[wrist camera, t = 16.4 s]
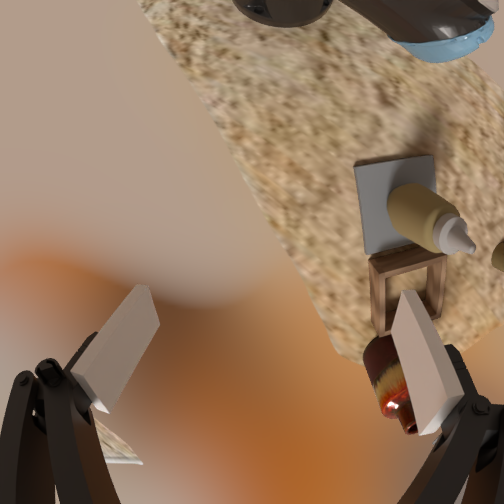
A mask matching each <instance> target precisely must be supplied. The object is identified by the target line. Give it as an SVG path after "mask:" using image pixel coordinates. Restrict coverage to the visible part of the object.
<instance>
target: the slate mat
mask: <svg viewBox="0 0 504 504" xmlns="http://www.w3.org/2000/svg"><path fill="white" fill-rule="evenodd" d="M353 168H354V173H355V179H356V185H357V192H358V199H359V206H360V213H361V221H362V229H363V239H364V249H365V253H366V255H369V254H373V253H377V252H381V251H385V250H389V249H393V248H397V247H401V246H405V245H409V244H413V243H415V242H413V241H411V240H410V239H408V238H406V237H404V236H403V235H401V234H399V233H398V232H397V231H396V230H395V229H394V228H393V226H392V223H391V220H390V217H389V214H388V211H387V200H388V197H389V194H390V193H391V192H392V191H393V190H394V189H395V188H397V187H399V186H402V185H405V184H409V183H419V184H421V185H423V186H425V187H427V188H428V189H430V190H431V191H433V192H434V193H436V180H435V169H434V159H433V155H424V156H417V157H410V158H403V159H396V160H390V161H384V162H377V163H372V164H366V165H360V166H354V167H353Z"/></svg>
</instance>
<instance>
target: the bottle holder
mask: <svg viewBox="0 0 504 504" xmlns="http://www.w3.org/2000/svg"><path fill="white" fill-rule="evenodd" d="M368 262H369V277H370V298H371V322H372V324H373V326H374V328H375V330H376V332H377V334H378V336H379V338H380V337H383V336H386V335H390V334H391V329H392V325H393V322H394V318H395V315H396V311H397V309H396V310H393V311H390V312H386V313H385V278H388V277H391V276H395V275H399V274H402V273H406V272H409V271H413V270H416V269H419V268H423V267H426V266H428V267H427V285H426V298H425V301H422V303H423V305H424V307H425V309H426V311H427V313H428V314H429V316H430V318H431V320H434V319H437V318H440V317H441V310H442V303H443V295H444V286H445V276H446V263H447V254H445V253H443V252H442V253H434V252H431V251H429V250H427V249H425V248H423V247H422V246H421V247H417V248H413V249H409V250H406V251H402V252H398V253H394V254H390V255H386V256H382V257H379V258H375V259H371V260H368Z"/></svg>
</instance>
